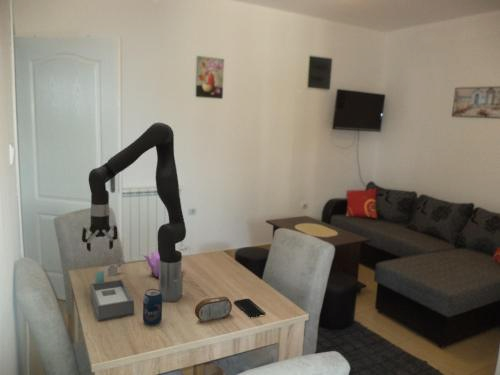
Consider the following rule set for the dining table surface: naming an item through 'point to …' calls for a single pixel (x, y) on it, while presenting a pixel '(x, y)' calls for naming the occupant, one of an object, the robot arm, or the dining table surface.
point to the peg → (99, 276)
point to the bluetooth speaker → (213, 309)
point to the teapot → (154, 262)
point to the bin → (111, 300)
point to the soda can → (152, 307)
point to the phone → (249, 307)
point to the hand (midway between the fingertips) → (99, 249)
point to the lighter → (114, 268)
